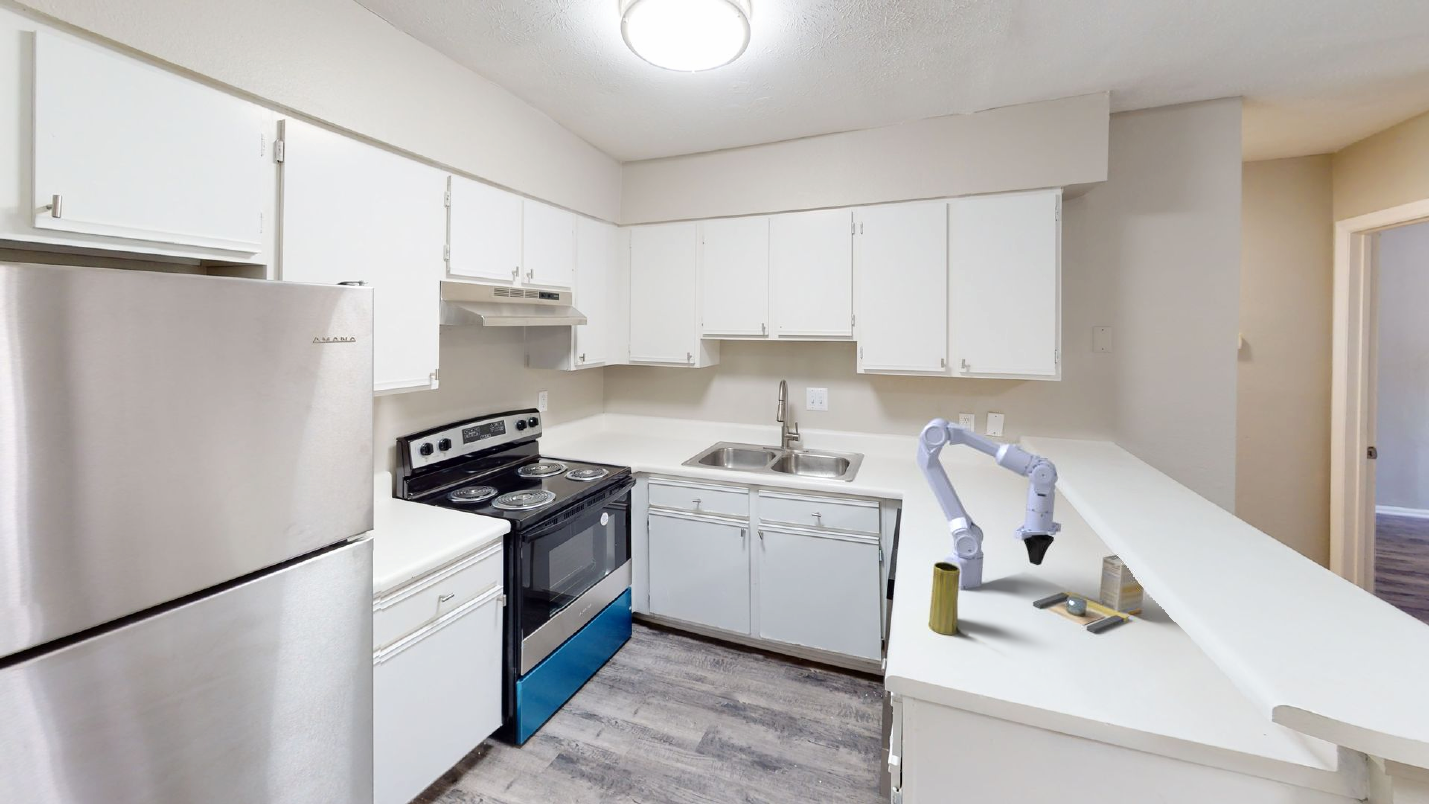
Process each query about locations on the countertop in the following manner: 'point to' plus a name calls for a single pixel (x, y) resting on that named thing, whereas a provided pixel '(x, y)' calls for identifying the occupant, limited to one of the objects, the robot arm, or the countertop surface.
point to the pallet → (1083, 621)
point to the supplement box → (1119, 587)
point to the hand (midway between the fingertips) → (1035, 563)
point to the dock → (1098, 626)
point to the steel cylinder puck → (1076, 606)
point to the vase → (944, 598)
